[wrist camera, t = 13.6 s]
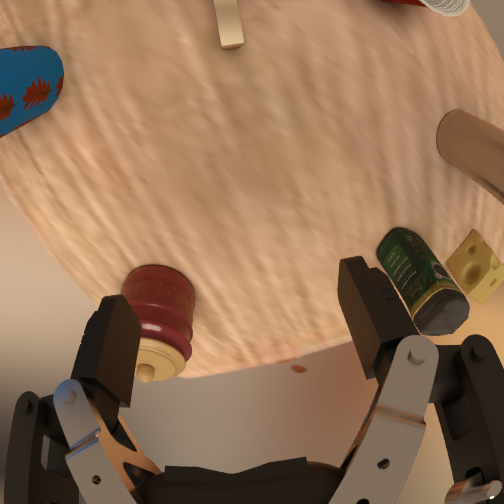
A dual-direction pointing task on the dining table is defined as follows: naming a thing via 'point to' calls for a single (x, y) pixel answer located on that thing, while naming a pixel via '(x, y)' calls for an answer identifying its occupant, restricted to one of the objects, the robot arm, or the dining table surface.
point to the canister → (161, 320)
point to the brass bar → (229, 23)
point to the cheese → (476, 268)
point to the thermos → (27, 84)
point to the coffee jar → (423, 284)
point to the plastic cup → (439, 5)
